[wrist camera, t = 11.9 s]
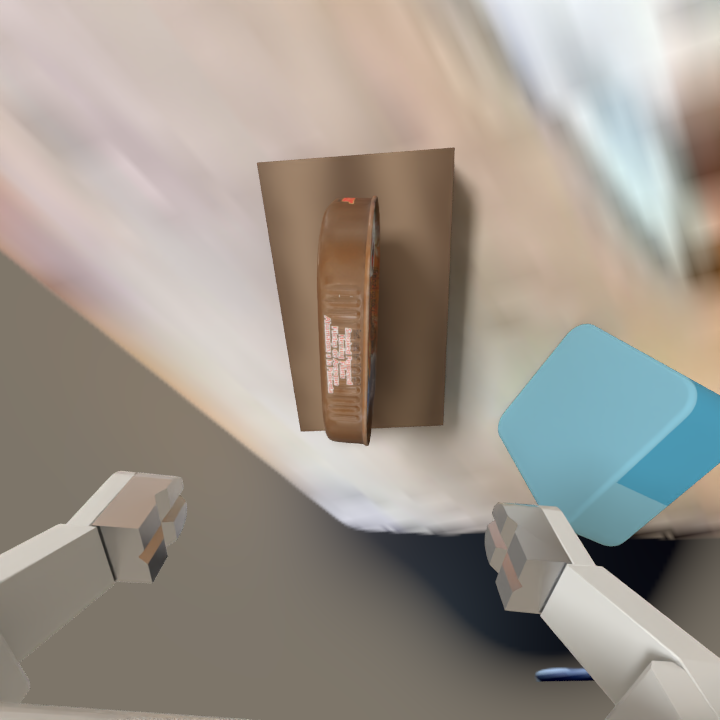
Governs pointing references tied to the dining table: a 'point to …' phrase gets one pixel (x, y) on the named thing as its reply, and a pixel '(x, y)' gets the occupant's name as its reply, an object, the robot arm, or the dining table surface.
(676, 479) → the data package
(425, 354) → the walnut block
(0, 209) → the dining table surface
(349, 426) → the tin
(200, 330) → the dining table surface
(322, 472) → the dining table surface
